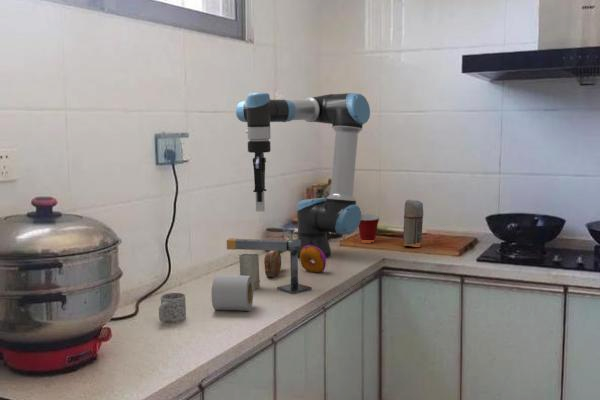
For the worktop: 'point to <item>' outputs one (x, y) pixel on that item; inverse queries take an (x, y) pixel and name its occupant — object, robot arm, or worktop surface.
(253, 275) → the box
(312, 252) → the donut
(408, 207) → the grey thermos bottle
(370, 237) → the plastic cup
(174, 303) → the mug
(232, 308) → the toilet paper
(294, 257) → the post
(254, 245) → the bar
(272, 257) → the tin
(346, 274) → the worktop surface
